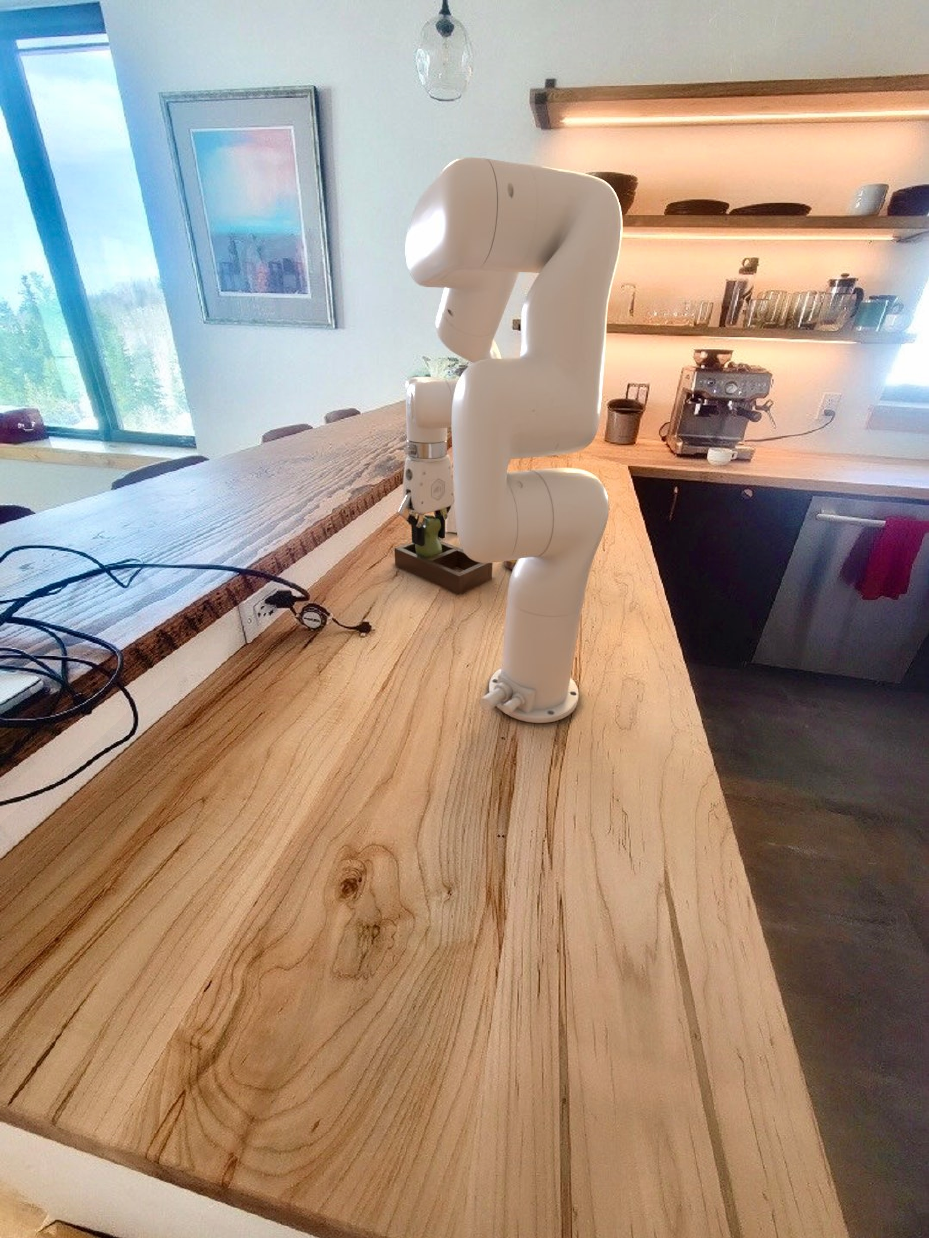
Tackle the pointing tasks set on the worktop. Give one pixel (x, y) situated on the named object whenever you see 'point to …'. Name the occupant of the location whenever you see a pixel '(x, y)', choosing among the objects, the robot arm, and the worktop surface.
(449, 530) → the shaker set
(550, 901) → the worktop surface
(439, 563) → the divided tray
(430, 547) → the pear
